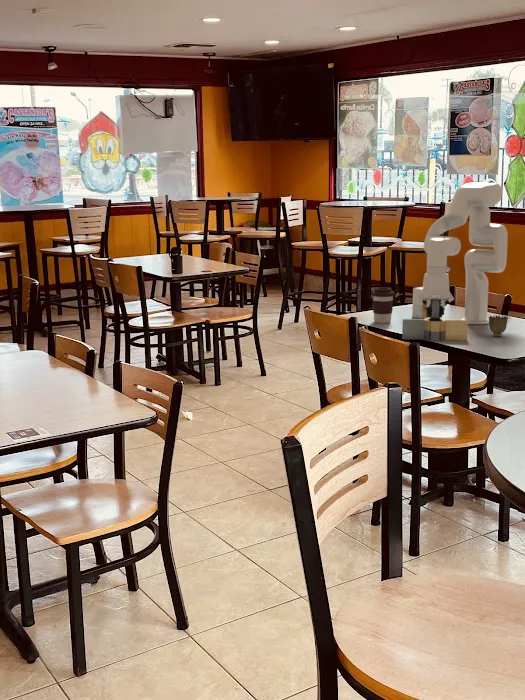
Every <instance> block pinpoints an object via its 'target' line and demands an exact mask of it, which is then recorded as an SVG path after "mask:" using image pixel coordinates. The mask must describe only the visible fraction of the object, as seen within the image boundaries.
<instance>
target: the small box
mask: <svg viewBox="0 0 525 700" xmlns="http://www.w3.org/2000/svg"><path fill="white" fill-rule="evenodd" d="M422 291H423V286H420V287H413V288H412V317H413V318H417V319H424V315H427V314H426V313H427V311H426V310H425V309H424V308H422V307H420V306H423V307H424V306H425V304H424V303H423V302H421V301H419V300H418V297H419V295H420V294H421V293H422ZM422 298H423V297H422ZM423 299H424V298H423ZM424 300H425V299H424ZM425 301H426V300H425ZM425 308H426V307H425ZM419 309H422V310H419ZM423 310H424V311H425V312H426V313H425V312H424V311H423Z"/></svg>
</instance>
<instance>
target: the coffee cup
mask: <svg viewBox="0 0 525 700" xmlns="http://www.w3.org/2000/svg"><path fill="white" fill-rule="evenodd" d="M371 296H372V312H373V321H374V322H375V323H376V324H389V323H391V322H392V315H393V310H394V309H393V306H394V296H395V291H394V290H392V288H391V287H386V286H380V287H379V286H378V287H375V289H374V290H372V291H371Z"/></svg>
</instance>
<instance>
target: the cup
mask: <svg viewBox="0 0 525 700" xmlns="http://www.w3.org/2000/svg"><path fill="white" fill-rule="evenodd" d="M488 319H489V323H488V327H489V331H490V332H491V333H492V337H495V338H502V336H503V333H505V331H506V329H507V324H508V319H509V318H508V317H507V316H506V315H505V316H503V315H502V316H500V315H493V316H492V315H489V316H488Z"/></svg>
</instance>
